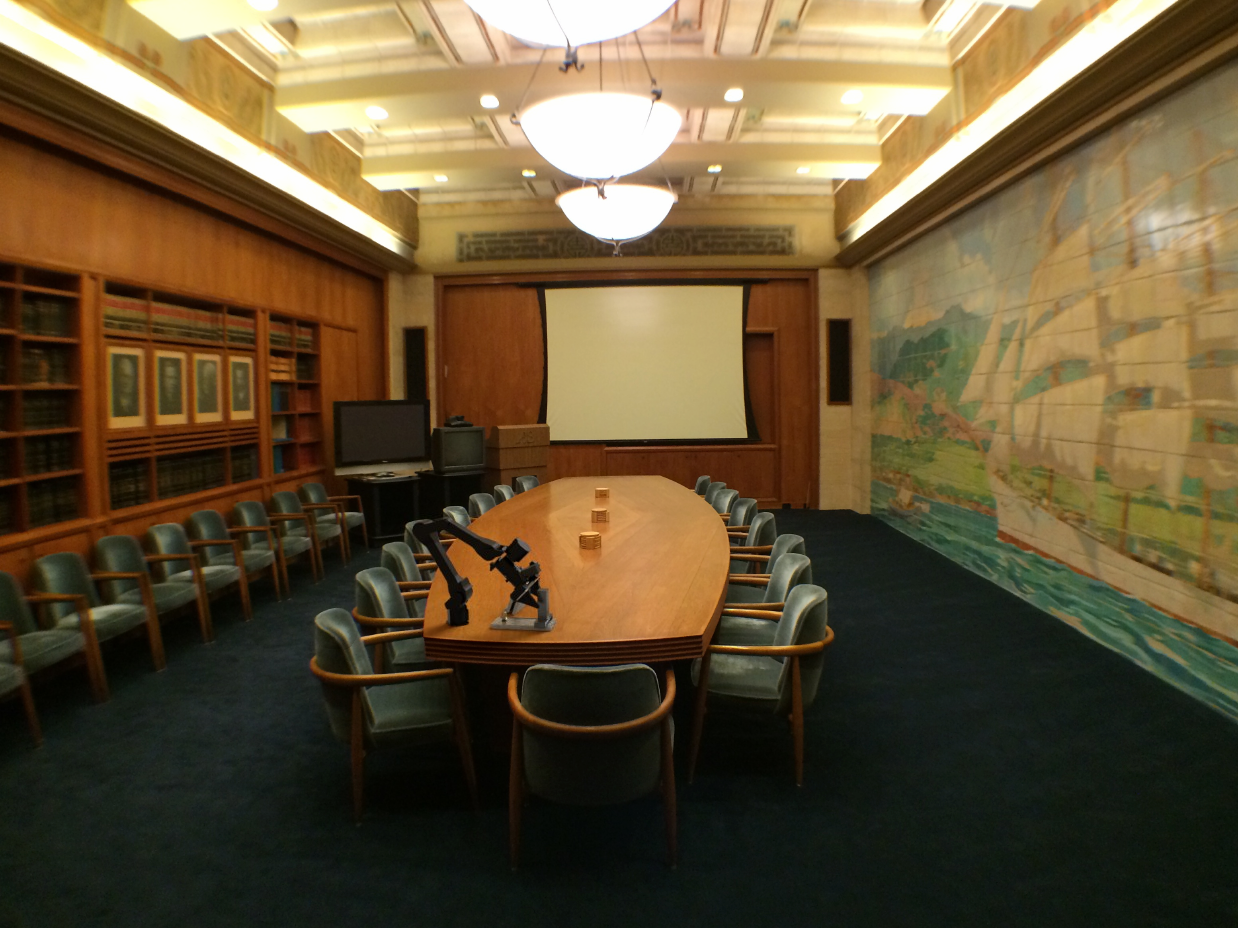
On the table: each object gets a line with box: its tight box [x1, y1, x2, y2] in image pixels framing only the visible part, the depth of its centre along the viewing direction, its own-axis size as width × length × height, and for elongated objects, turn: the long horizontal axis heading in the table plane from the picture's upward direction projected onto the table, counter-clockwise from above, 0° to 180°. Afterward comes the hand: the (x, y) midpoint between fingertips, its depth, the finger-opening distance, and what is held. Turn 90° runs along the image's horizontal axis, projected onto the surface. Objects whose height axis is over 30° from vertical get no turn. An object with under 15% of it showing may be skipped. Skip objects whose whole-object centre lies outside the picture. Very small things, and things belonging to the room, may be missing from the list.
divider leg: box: [534, 587, 554, 629], centre depth 238 cm, size 4×10×12 cm, turn 172°
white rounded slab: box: [502, 589, 533, 616], centre depth 259 cm, size 17×5×10 cm, turn 168°
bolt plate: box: [490, 611, 557, 632], centre depth 239 cm, size 21×8×4 cm, turn 82°
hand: (542, 603), depth 238 cm, fingers open, 9 cm apart
